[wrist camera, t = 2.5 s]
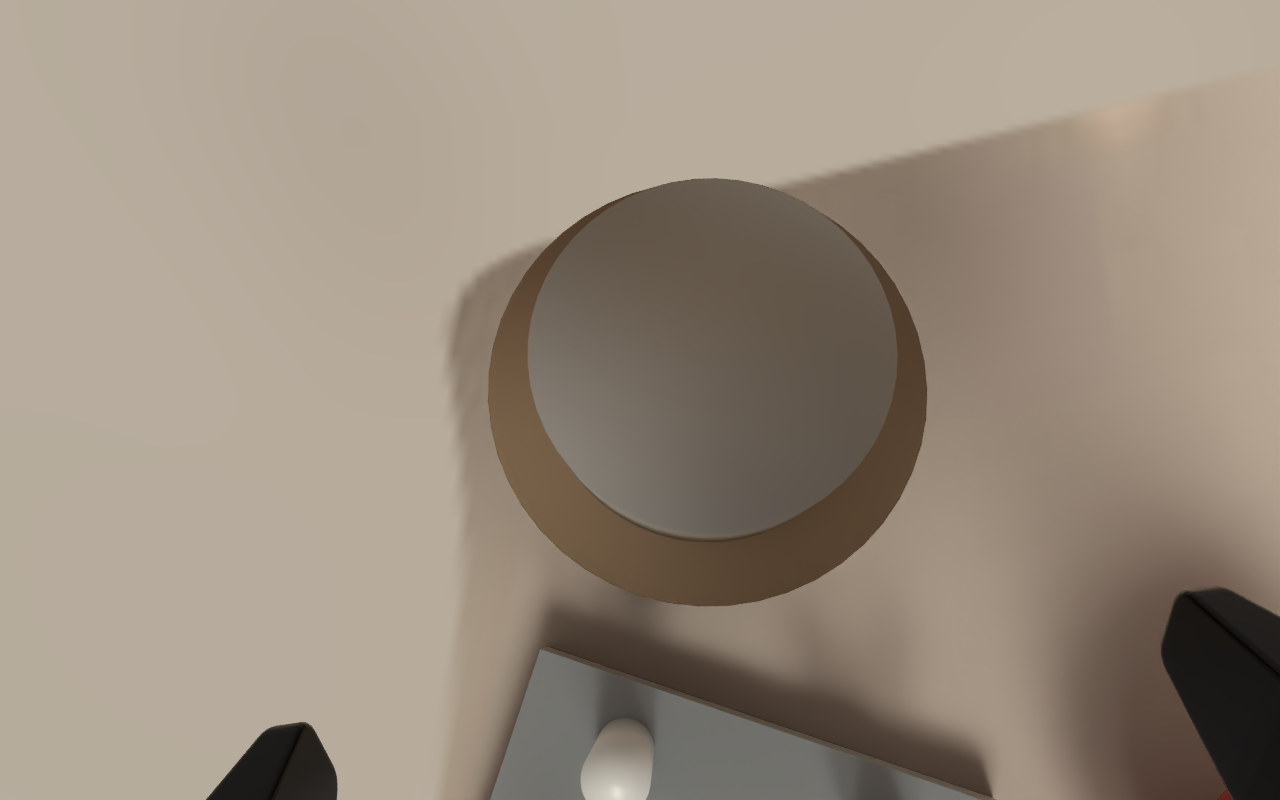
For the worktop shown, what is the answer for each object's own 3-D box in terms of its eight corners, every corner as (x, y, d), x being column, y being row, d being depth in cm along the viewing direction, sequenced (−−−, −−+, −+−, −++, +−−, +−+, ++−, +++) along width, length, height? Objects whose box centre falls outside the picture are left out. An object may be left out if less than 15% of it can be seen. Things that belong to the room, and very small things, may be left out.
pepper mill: (751, 626, 19) (899, 681, 7) (564, 565, 19) (385, 512, 7) (804, 440, 20) (1018, 190, 8) (624, 385, 20) (554, 68, 8)
